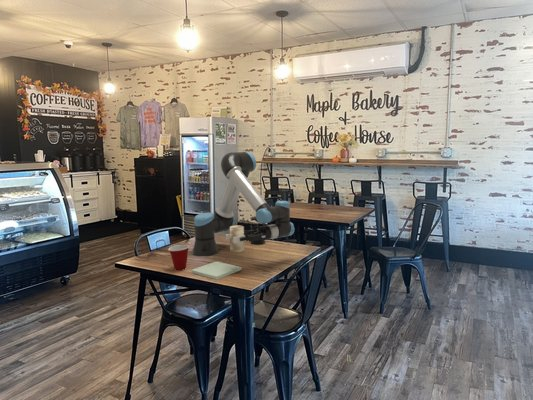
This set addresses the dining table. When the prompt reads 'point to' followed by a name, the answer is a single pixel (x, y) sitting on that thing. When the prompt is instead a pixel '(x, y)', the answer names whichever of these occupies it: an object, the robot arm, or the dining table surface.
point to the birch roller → (236, 232)
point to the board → (216, 270)
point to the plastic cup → (179, 256)
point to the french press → (257, 242)
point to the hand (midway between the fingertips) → (229, 238)
